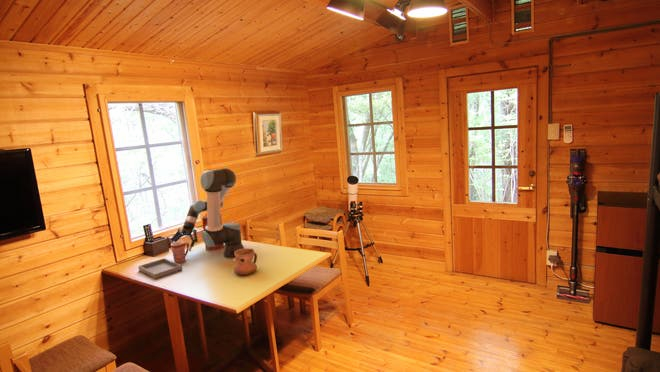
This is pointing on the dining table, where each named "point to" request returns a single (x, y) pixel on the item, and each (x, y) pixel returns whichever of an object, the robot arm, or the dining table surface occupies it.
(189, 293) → the dining table surface
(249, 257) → the ceramic jug
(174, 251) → the mug
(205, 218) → the food packaging
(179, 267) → the tray
